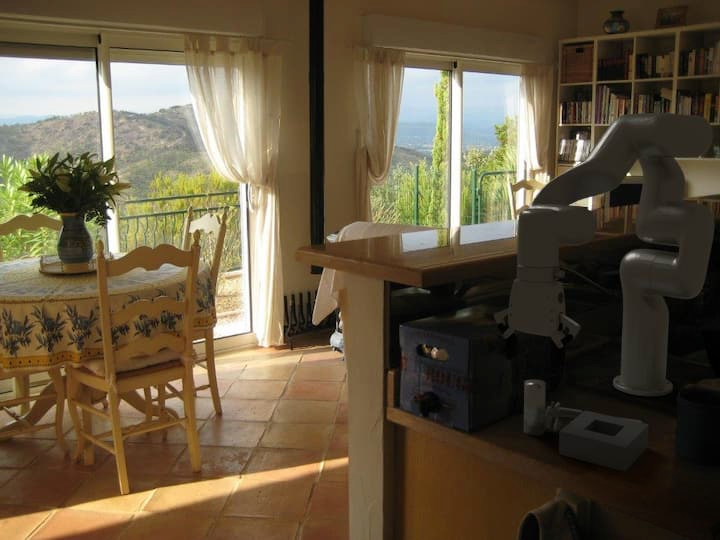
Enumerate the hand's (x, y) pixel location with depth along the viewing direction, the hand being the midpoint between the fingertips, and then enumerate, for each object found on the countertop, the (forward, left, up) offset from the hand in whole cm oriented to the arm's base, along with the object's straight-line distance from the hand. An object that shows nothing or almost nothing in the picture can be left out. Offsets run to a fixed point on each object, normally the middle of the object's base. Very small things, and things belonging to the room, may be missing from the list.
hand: (534, 361), depth 139 cm
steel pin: (0, 0, -14) cm, 14 cm away
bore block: (0, +14, -14) cm, 20 cm away
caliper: (-9, +9, -15) cm, 20 cm away
